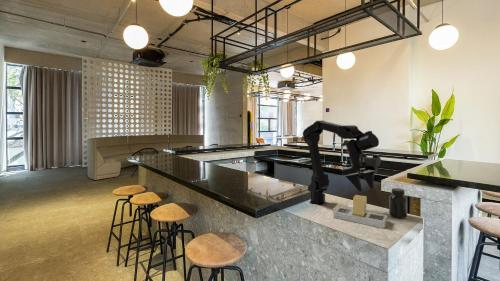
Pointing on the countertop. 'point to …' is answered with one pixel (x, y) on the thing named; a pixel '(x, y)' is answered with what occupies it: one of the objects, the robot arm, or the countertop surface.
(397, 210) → the supplement bottle
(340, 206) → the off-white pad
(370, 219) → the grey slotted tray
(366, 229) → the countertop surface
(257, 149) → the countertop surface
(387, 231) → the countertop surface
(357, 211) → the brass peg
